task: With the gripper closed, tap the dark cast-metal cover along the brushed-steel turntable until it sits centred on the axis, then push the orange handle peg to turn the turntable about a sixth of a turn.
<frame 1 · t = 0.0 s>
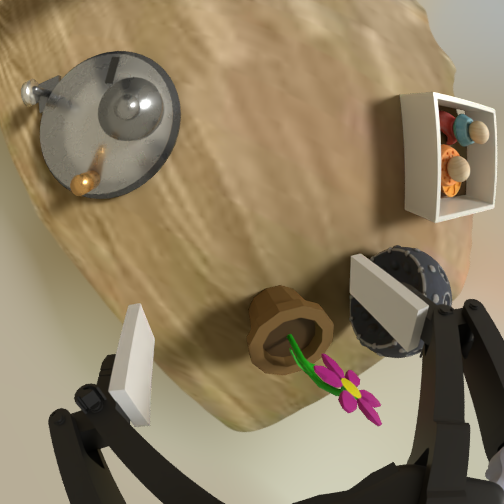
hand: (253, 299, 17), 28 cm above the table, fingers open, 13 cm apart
turntable base: (107, 123, 34), on the table
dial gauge: (51, 94, 29), on the table
cover: (134, 111, 31), point 4 cm above the table, touching turntable
turntable: (96, 121, 29), point 6 cm above the table, hinge at -20.0°, touching cover
parts crate: (441, 152, 47), on the table
flowerpot: (274, 308, 52), on the table
dark decorated bowl: (370, 277, 55), on the table
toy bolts: (440, 152, 48), resting in parts crate
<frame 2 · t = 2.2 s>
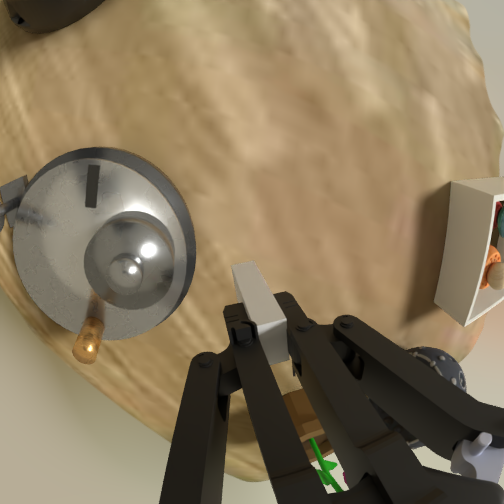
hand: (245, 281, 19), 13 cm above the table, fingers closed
turntable base: (99, 247, 28), on the table
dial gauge: (19, 200, 23), on the table
cover: (134, 251, 25), point 4 cm above the table, touching turntable
turntable: (84, 269, 23), point 6 cm above the table, hinge at -20.0°, touching cover
parts crate: (478, 235, 42), on the table
flowerpot: (295, 404, 47), on the table
dark decorated bowl: (390, 365, 49), on the table
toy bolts: (477, 237, 43), resting in parts crate
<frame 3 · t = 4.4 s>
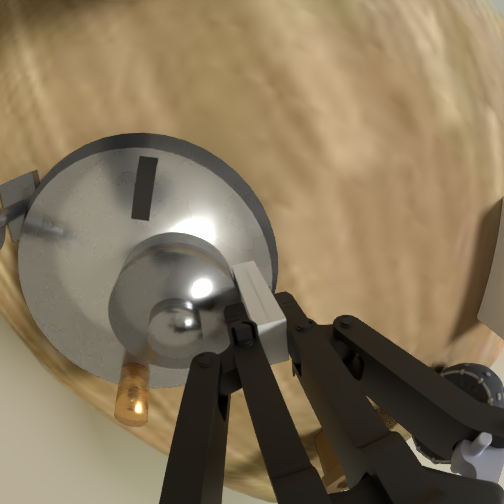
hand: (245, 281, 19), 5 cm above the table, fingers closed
turntable base: (141, 271, 22), on the table
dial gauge: (26, 205, 17), on the table
cover: (175, 287, 19), point 4 cm above the table, touching gripper
turntable: (131, 308, 17), point 6 cm above the table, hinge at -20.0°
flowerpot: (341, 429, 40), on the table
dark decorated bowl: (431, 382, 43), on the table
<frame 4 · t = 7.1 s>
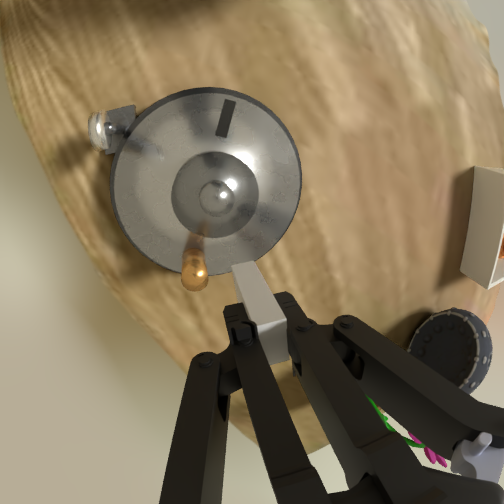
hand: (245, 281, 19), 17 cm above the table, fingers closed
turntable base: (206, 182, 32), on the table
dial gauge: (121, 129, 27), on the table
cover: (211, 188, 29), point 4 cm above the table, touching turntable
turntable: (209, 191, 27), point 6 cm above the table, hinge at -20.0°, touching cover
parts crate: (493, 216, 46), on the table
flowerpot: (345, 363, 51), on the table
dark decorated bowl: (422, 330, 53), on the table
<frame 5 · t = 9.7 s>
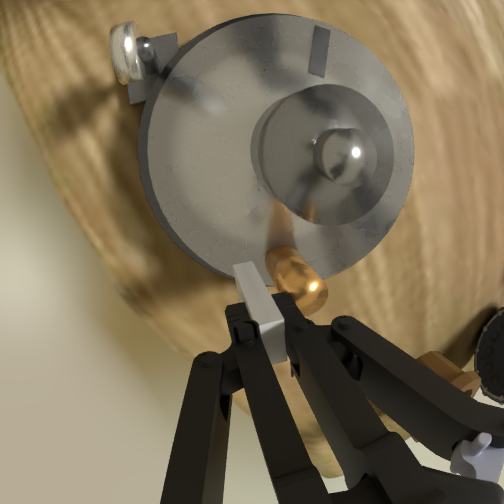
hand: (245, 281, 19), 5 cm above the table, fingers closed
turntable base: (286, 148, 21), on the table
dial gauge: (154, 69, 17), on the table
cover: (309, 151, 18), point 4 cm above the table, touching turntable
turntable: (314, 151, 16), point 6 cm above the table, hinge at -17.4°, touching cover, gripper
flowerpot: (417, 373, 39), on the table
dark decorated bowl: (486, 326, 41), on the table
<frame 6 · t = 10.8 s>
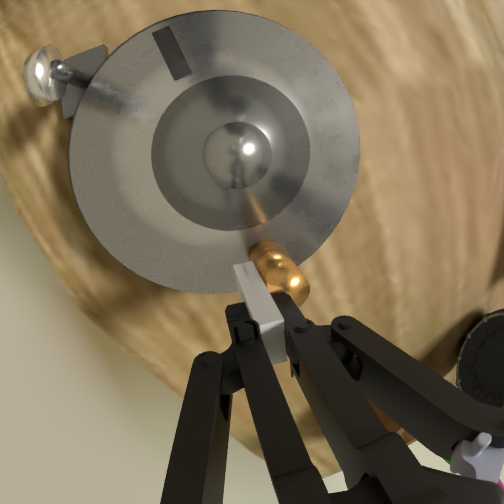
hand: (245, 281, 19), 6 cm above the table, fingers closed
turntable base: (214, 149, 20), on the table
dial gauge: (86, 82, 16), on the table
cover: (224, 149, 17), point 4 cm above the table, touching turntable
turntable: (221, 154, 15), point 6 cm above the table, hinge at 15.1°, touching cover, gripper
flowerpot: (391, 381, 38), on the table
dark decorated bowl: (471, 332, 41), on the table
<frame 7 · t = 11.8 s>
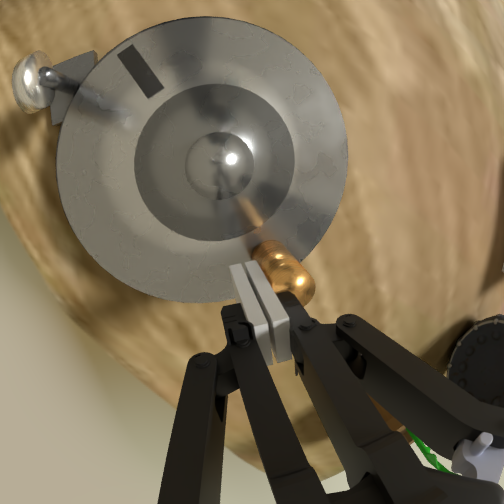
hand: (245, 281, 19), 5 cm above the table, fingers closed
turntable base: (201, 158, 20), on the table
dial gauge: (75, 88, 15), on the table
cover: (209, 158, 17), point 4 cm above the table, touching turntable
turntable: (206, 164, 15), point 6 cm above the table, hinge at 25.3°, touching cover, gripper
flowerpot: (380, 388, 39), on the table
dark decorated bowl: (462, 340, 41), on the table
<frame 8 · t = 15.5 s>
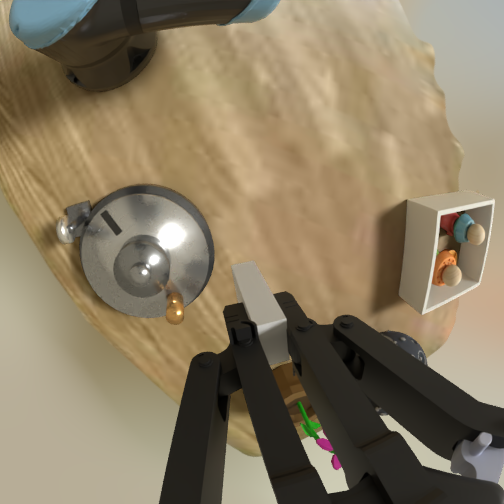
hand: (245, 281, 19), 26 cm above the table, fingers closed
turntable base: (145, 252, 43), on the table
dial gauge: (82, 218, 39), on the table
cover: (144, 260, 40), point 4 cm above the table, touching turntable
turntable: (141, 266, 38), point 6 cm above the table, hinge at 23.8°, touching cover
parts crate: (438, 240, 57), on the table
flowerpot: (286, 376, 61), on the table
dark decorated bowl: (365, 347, 64), on the table
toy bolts: (440, 243, 58), resting in parts crate
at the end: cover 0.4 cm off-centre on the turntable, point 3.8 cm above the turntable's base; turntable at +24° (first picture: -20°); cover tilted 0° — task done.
